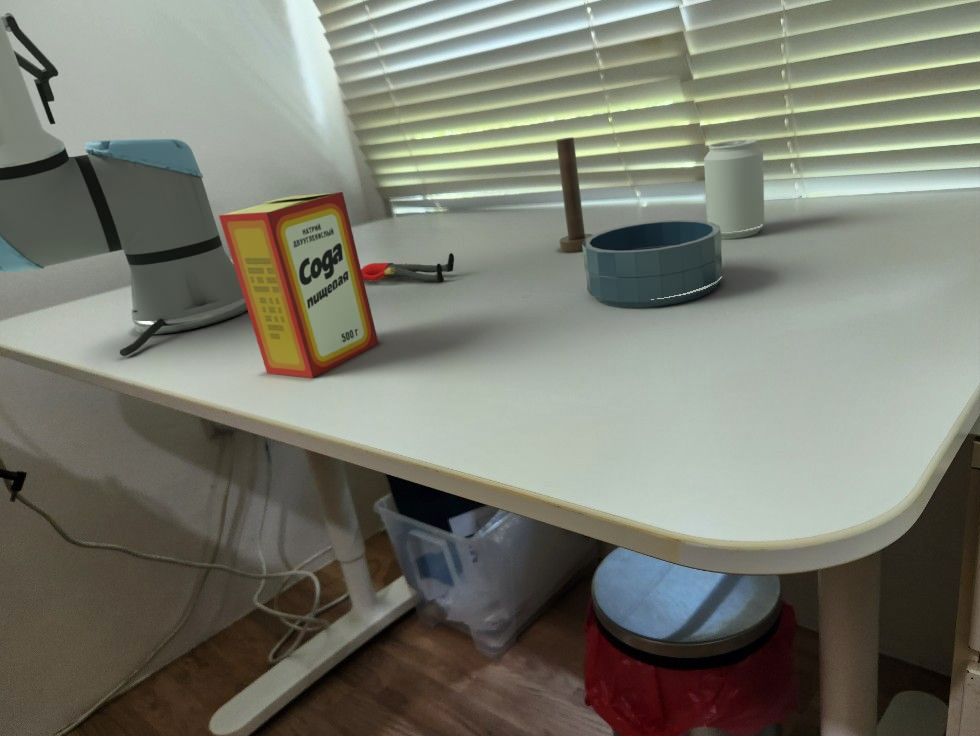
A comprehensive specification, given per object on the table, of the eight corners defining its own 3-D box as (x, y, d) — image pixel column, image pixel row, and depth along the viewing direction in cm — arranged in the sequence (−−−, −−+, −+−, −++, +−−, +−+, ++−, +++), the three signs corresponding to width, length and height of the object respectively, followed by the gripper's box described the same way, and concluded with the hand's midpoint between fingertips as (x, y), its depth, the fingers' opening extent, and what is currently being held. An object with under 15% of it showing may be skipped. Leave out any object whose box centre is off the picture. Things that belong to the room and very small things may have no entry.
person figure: (434, 250, 98) (329, 254, 106) (434, 281, 98) (330, 282, 106) (455, 253, 102) (353, 256, 110) (455, 282, 103) (354, 283, 111)
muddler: (593, 250, 105) (580, 138, 99) (558, 253, 106) (543, 143, 100) (597, 242, 109) (585, 134, 103) (563, 245, 110) (550, 139, 104)
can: (700, 233, 105) (696, 144, 100) (752, 224, 105) (750, 135, 101) (718, 243, 98) (713, 147, 94) (773, 234, 99) (772, 138, 94)
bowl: (725, 303, 75) (722, 243, 72) (581, 314, 78) (574, 258, 75) (720, 266, 88) (717, 214, 85) (596, 277, 91) (591, 228, 88)
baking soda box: (312, 378, 71) (265, 208, 65) (267, 373, 75) (217, 211, 68) (378, 343, 79) (341, 187, 72) (334, 340, 82) (295, 191, 76)
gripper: (39, -28, 118) (85, 110, 131) (-160, -17, 107) (-87, 132, 120) (46, -19, 113) (92, 123, 127) (-161, -7, 102) (-86, 147, 115)
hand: (5, 128), depth 123 cm, fingers open, 13 cm apart
